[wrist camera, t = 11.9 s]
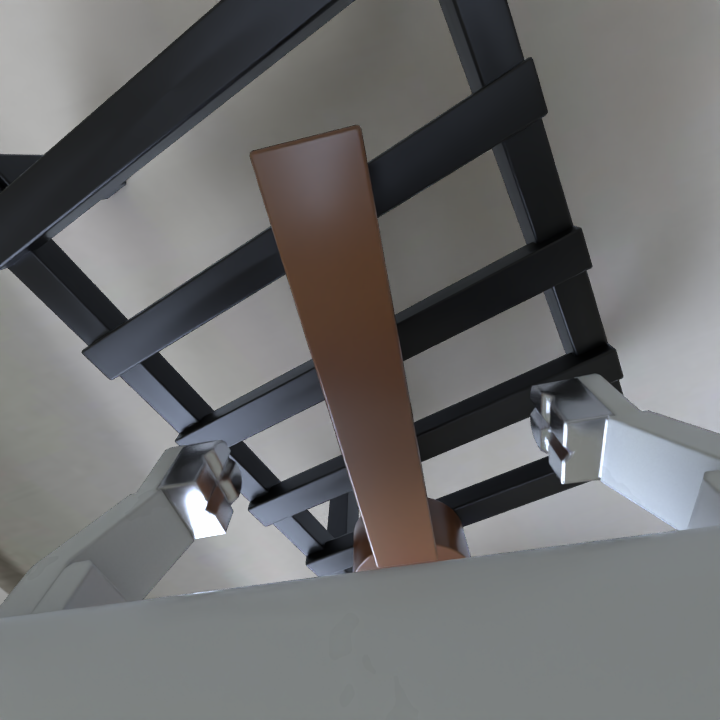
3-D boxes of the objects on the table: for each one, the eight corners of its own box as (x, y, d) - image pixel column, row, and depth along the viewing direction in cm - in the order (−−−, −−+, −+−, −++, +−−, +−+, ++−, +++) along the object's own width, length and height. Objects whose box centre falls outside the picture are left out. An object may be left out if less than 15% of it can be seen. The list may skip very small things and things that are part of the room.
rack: (84, 171, 15) (-103, 180, 9) (389, -81, 12) (421, -339, 6) (342, 481, 23) (336, 595, 17) (565, 386, 20) (656, 485, 14)
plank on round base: (228, 165, 9) (182, 168, 7) (412, 120, 8) (432, 105, 6) (365, 572, 16) (366, 639, 14) (466, 559, 16) (484, 626, 14)
